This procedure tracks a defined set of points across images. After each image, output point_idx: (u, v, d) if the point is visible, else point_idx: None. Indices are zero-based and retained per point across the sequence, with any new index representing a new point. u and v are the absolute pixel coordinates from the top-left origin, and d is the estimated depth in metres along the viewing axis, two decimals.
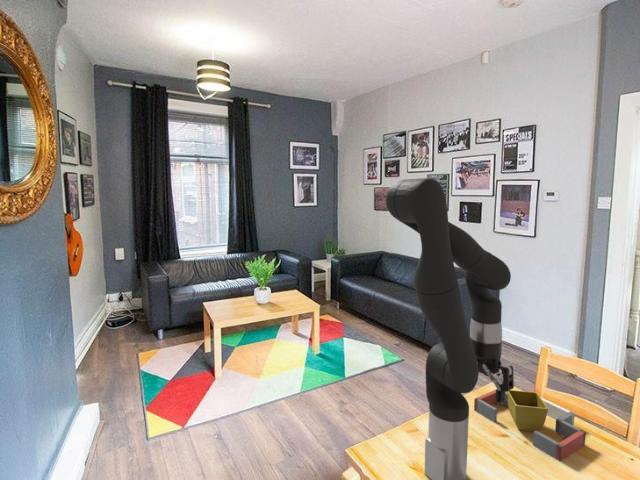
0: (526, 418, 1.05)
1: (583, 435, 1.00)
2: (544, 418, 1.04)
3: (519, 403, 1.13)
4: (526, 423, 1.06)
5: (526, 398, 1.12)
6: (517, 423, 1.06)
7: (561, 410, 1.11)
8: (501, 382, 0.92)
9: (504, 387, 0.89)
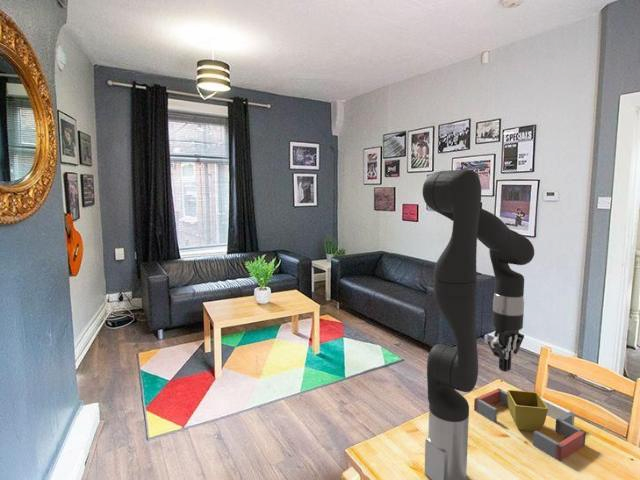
0: (526, 418, 1.05)
1: (583, 435, 1.00)
2: (544, 418, 1.04)
3: (519, 403, 1.13)
4: (526, 423, 1.06)
5: (526, 398, 1.12)
6: (517, 423, 1.06)
7: (561, 410, 1.11)
8: (504, 351, 1.02)
9: (515, 351, 1.01)
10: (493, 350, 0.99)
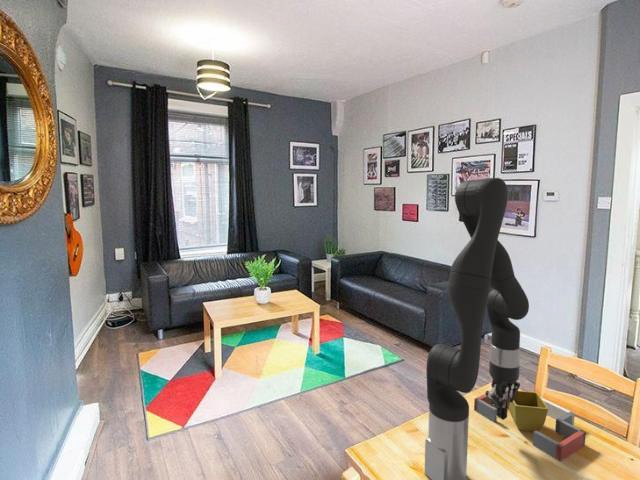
0: (526, 418, 1.05)
1: (583, 435, 1.00)
2: (544, 418, 1.04)
3: (519, 403, 1.13)
4: (526, 423, 1.06)
5: (526, 398, 1.12)
6: (517, 423, 1.06)
7: (561, 410, 1.11)
8: None
9: (511, 399, 1.03)
10: (491, 400, 1.01)
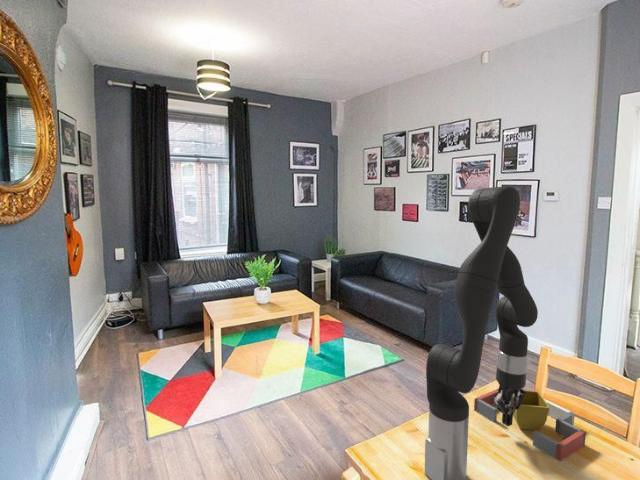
0: (527, 417, 1.06)
1: (583, 435, 1.00)
2: (545, 417, 1.05)
3: None
4: (527, 422, 1.06)
5: (528, 397, 1.13)
6: (518, 422, 1.07)
7: (561, 410, 1.11)
8: (506, 405, 1.05)
9: (517, 406, 1.04)
10: (497, 406, 1.02)
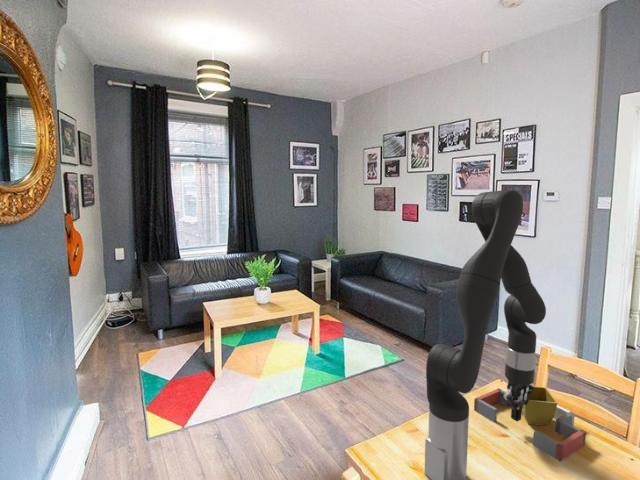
0: (536, 412, 1.08)
1: (583, 435, 1.00)
2: (553, 412, 1.07)
3: None
4: (536, 417, 1.08)
5: (535, 393, 1.15)
6: (527, 417, 1.09)
7: (561, 410, 1.11)
8: (515, 401, 1.07)
9: (525, 402, 1.06)
10: (506, 401, 1.04)
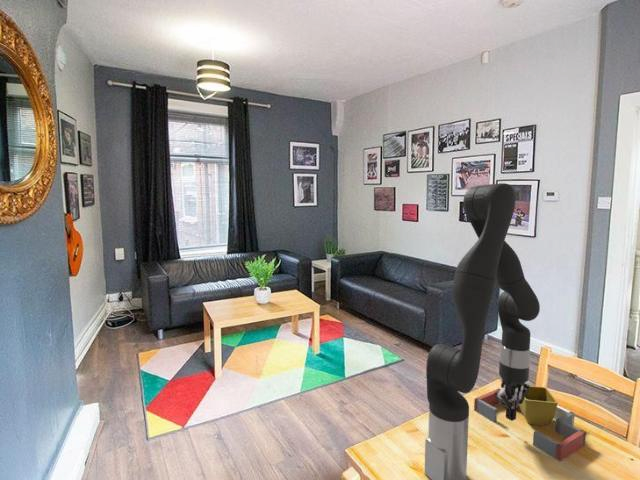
0: (536, 412, 1.08)
1: (583, 435, 1.00)
2: (554, 412, 1.07)
3: (528, 398, 1.15)
4: (536, 417, 1.08)
5: (535, 393, 1.15)
6: (527, 417, 1.09)
7: (561, 410, 1.11)
8: (510, 400, 1.05)
9: (520, 401, 1.04)
10: (500, 400, 1.02)
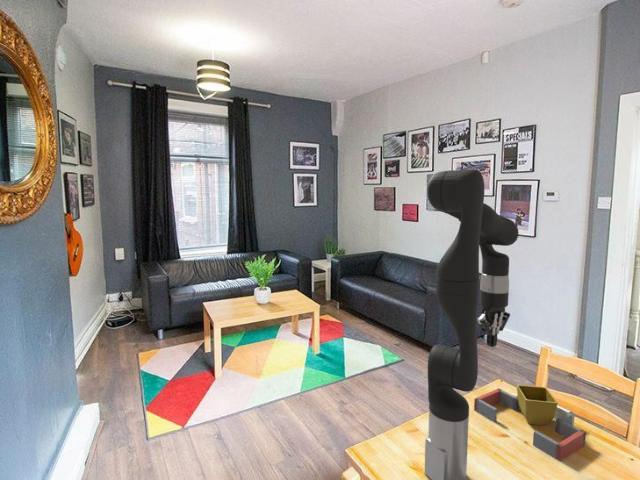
0: (536, 412, 1.08)
1: (583, 435, 1.00)
2: (554, 412, 1.07)
3: (529, 398, 1.15)
4: (536, 417, 1.08)
5: (535, 393, 1.15)
6: (527, 417, 1.09)
7: (561, 410, 1.11)
8: (490, 328, 1.08)
9: (501, 328, 1.07)
10: (480, 326, 1.05)
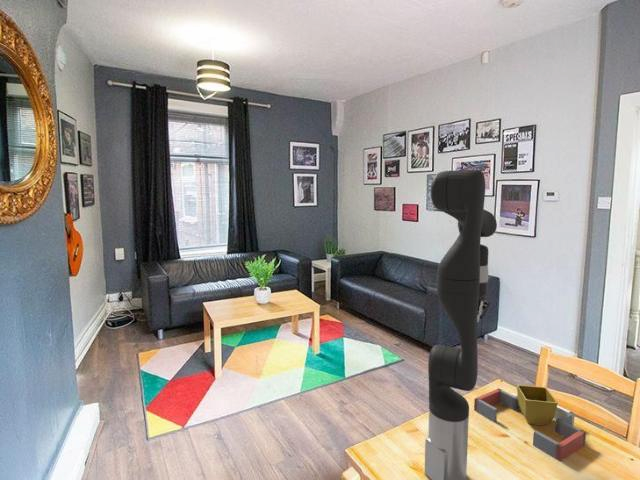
0: (536, 412, 1.08)
1: (583, 435, 1.00)
2: (554, 412, 1.07)
3: (529, 398, 1.15)
4: (536, 417, 1.08)
5: (535, 393, 1.15)
6: (527, 417, 1.09)
7: (561, 410, 1.11)
8: None
9: (481, 316, 1.12)
10: None
